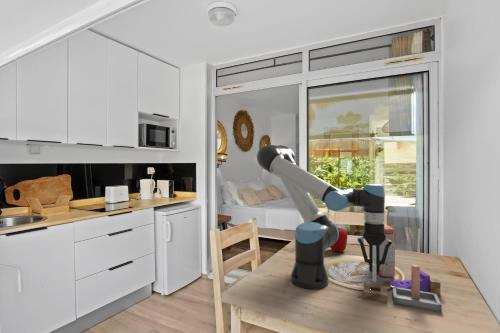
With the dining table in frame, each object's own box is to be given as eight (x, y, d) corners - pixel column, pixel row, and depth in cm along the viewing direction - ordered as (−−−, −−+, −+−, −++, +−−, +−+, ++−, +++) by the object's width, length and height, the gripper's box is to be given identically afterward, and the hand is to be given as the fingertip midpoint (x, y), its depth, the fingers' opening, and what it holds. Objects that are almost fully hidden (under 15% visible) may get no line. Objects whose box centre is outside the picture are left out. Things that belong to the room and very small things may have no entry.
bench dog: (430, 294, 105) (430, 281, 105) (428, 290, 109) (429, 277, 109) (440, 296, 104) (440, 282, 104) (438, 291, 108) (438, 278, 108)
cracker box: (395, 277, 121) (396, 229, 121) (381, 277, 122) (381, 228, 121) (383, 265, 135) (383, 222, 135) (370, 265, 136) (370, 221, 135)
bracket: (417, 285, 114) (417, 268, 114) (429, 293, 107) (430, 275, 107) (389, 287, 113) (389, 270, 113) (399, 295, 106) (399, 277, 106)
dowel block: (363, 298, 103) (363, 291, 103) (363, 289, 110) (363, 282, 110) (387, 302, 100) (387, 295, 99) (386, 293, 107) (386, 286, 107)
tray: (393, 303, 99) (394, 297, 99) (392, 293, 107) (392, 286, 107) (441, 312, 93) (441, 305, 93) (436, 300, 101) (436, 293, 101)
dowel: (411, 300, 99) (411, 266, 99) (410, 297, 102) (410, 264, 101) (420, 302, 98) (420, 268, 98) (419, 298, 101) (419, 265, 100)
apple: (324, 248, 162) (324, 225, 161) (341, 247, 163) (341, 224, 163) (333, 254, 151) (333, 229, 151) (351, 253, 153) (351, 228, 153)
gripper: (356, 222, 114) (356, 281, 114) (392, 225, 109) (392, 286, 109) (357, 219, 121) (357, 274, 121) (391, 221, 115) (391, 279, 116)
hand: (374, 280), depth 115 cm, fingers closed
